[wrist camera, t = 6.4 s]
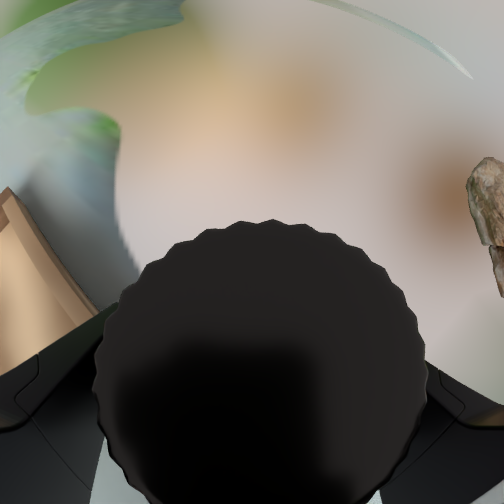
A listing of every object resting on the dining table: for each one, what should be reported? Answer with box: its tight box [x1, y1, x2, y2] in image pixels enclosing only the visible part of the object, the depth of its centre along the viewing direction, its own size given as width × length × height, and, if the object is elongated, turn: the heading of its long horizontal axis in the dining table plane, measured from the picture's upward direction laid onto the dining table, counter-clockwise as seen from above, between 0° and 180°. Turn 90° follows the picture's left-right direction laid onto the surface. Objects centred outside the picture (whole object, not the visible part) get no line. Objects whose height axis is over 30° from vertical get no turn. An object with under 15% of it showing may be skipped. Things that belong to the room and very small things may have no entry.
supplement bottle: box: [92, 219, 429, 504], centre depth 9 cm, size 7×7×12 cm
